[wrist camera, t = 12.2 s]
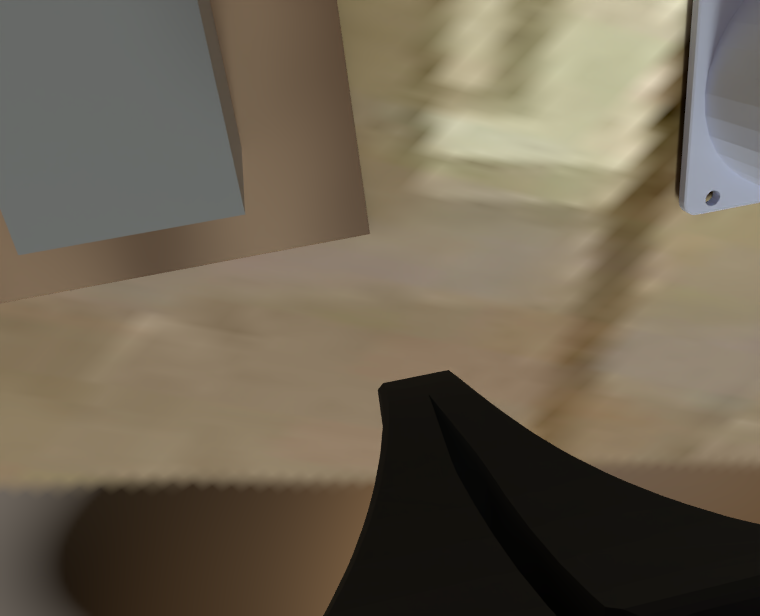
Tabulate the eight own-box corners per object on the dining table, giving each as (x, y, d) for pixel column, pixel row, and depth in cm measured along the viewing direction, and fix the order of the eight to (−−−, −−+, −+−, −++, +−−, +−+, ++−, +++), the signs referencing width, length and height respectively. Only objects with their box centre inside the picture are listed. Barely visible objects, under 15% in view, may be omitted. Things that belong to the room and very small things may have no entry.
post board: (305, -196, 17) (336, -264, 12) (366, 227, 22) (405, 302, 17) (-176, -140, 16) (-361, -190, 11) (4, 295, 21) (-67, 397, 16)
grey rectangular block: (203, -29, 18) (191, -28, 12) (241, 148, 20) (245, 214, 14) (18, -2, 17) (-78, 10, 12) (77, 176, 19) (18, 255, 14)
